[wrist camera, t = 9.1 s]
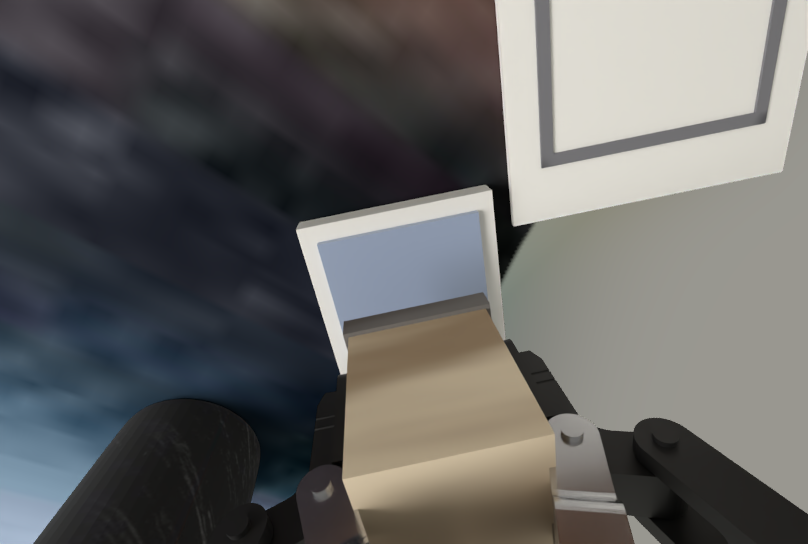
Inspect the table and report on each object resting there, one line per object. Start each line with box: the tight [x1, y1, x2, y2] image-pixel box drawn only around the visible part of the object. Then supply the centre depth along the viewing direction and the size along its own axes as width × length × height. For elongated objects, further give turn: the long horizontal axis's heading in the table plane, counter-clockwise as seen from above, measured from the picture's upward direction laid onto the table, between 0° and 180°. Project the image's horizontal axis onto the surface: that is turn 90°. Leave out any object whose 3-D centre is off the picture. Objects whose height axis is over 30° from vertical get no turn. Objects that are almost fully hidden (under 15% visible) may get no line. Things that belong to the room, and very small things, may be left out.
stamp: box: [342, 292, 556, 544], centre depth 12 cm, size 5×5×6 cm
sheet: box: [495, 0, 808, 226], centre depth 15 cm, size 14×12×1 cm
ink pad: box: [296, 185, 506, 374], centre depth 19 cm, size 10×8×1 cm
